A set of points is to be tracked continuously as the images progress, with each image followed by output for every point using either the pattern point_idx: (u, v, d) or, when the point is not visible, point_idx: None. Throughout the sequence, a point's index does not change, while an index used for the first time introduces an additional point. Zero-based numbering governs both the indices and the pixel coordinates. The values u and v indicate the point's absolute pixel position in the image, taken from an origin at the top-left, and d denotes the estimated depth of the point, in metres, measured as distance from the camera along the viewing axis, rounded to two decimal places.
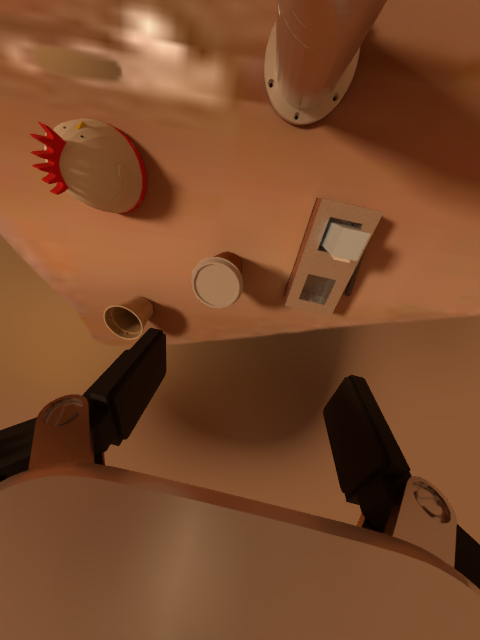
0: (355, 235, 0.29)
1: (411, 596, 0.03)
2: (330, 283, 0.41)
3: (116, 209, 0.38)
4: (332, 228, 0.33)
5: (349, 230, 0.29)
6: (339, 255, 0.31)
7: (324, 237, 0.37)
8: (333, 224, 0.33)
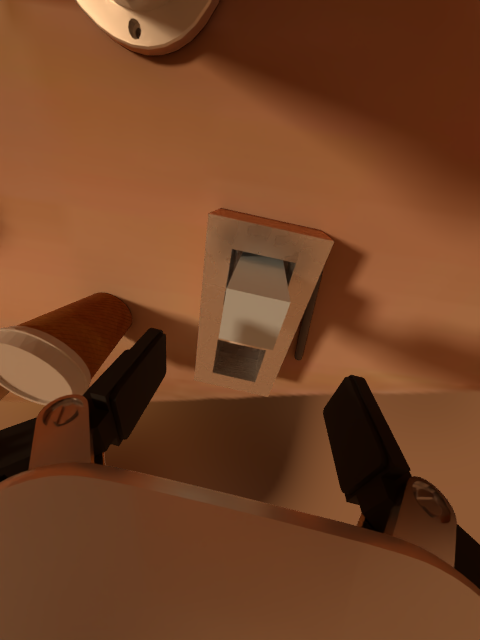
0: (258, 305, 0.13)
1: (411, 595, 0.03)
2: None
3: None
4: None
5: (241, 294, 0.12)
6: (234, 339, 0.14)
7: None
8: None
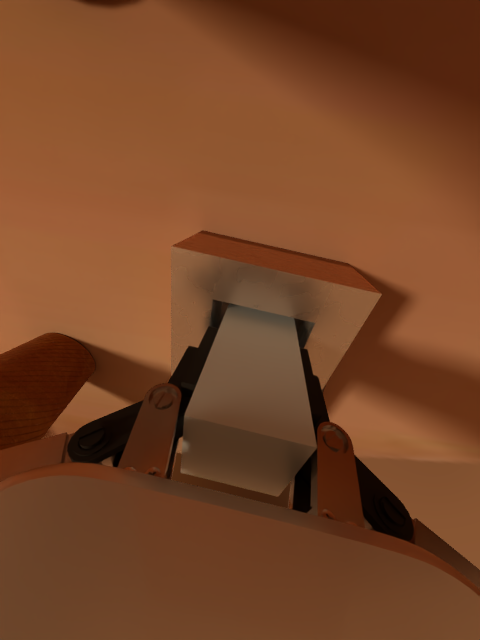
0: (250, 444, 0.06)
1: (411, 596, 0.03)
2: None
3: None
4: None
5: (216, 426, 0.06)
6: (209, 476, 0.08)
7: None
8: (221, 325, 0.10)
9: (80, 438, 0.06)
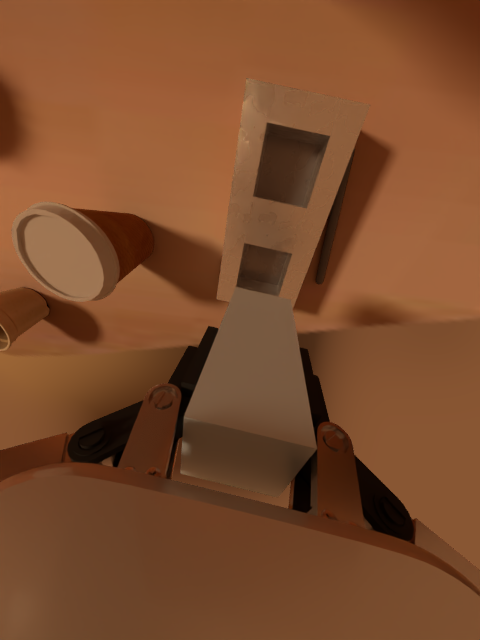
0: (249, 445, 0.06)
1: (410, 595, 0.03)
2: (287, 261, 0.25)
3: None
4: None
5: (216, 427, 0.06)
6: (209, 477, 0.08)
7: None
8: None
9: (80, 438, 0.06)
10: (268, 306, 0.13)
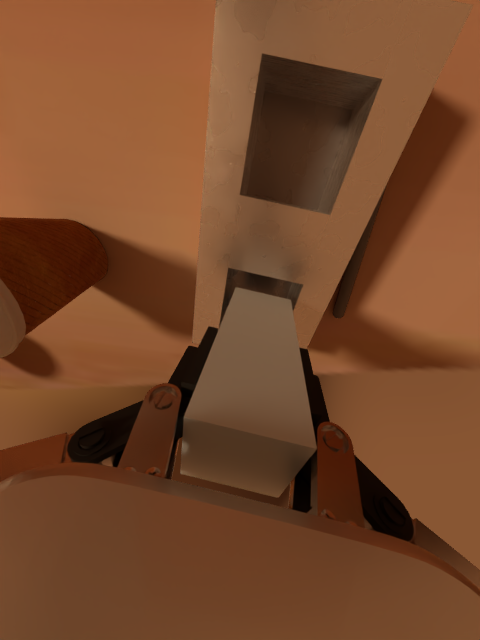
0: (249, 445, 0.06)
1: (410, 594, 0.03)
2: (293, 291, 0.17)
3: None
4: None
5: (216, 428, 0.06)
6: (209, 477, 0.08)
7: None
8: None
9: (80, 438, 0.06)
10: (268, 306, 0.13)
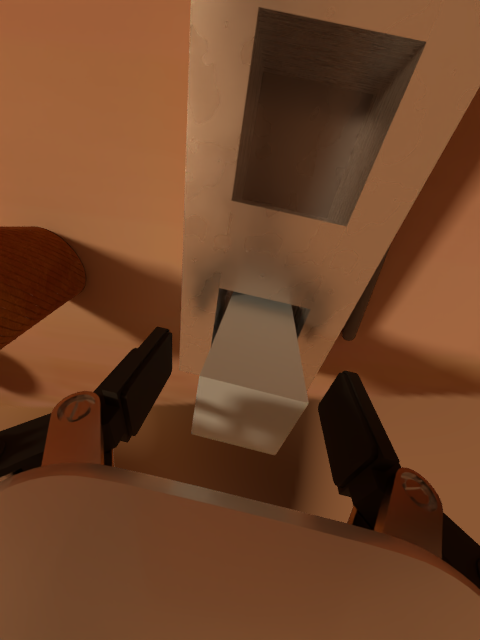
0: (253, 402, 0.08)
1: (411, 595, 0.03)
2: (298, 313, 0.14)
3: None
4: None
5: (225, 385, 0.07)
6: (216, 437, 0.09)
7: None
8: None
9: None
10: None
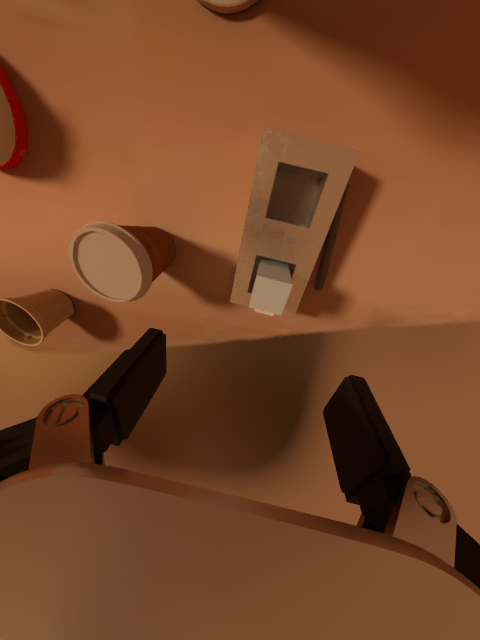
0: (274, 286, 0.22)
1: (410, 595, 0.03)
2: (291, 271, 0.29)
3: None
4: (258, 269, 0.27)
5: (265, 279, 0.22)
6: (258, 307, 0.24)
7: None
8: (259, 264, 0.27)
9: None
10: (277, 261, 0.29)
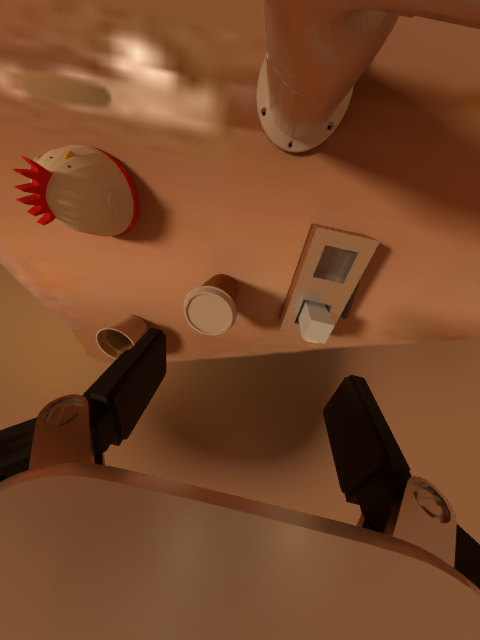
0: (322, 326, 0.34)
1: (411, 595, 0.03)
2: (326, 307, 0.41)
3: (107, 233, 0.38)
4: (305, 309, 0.38)
5: (316, 322, 0.34)
6: (309, 339, 0.36)
7: (300, 311, 0.41)
8: (306, 306, 0.38)
9: None
10: None
